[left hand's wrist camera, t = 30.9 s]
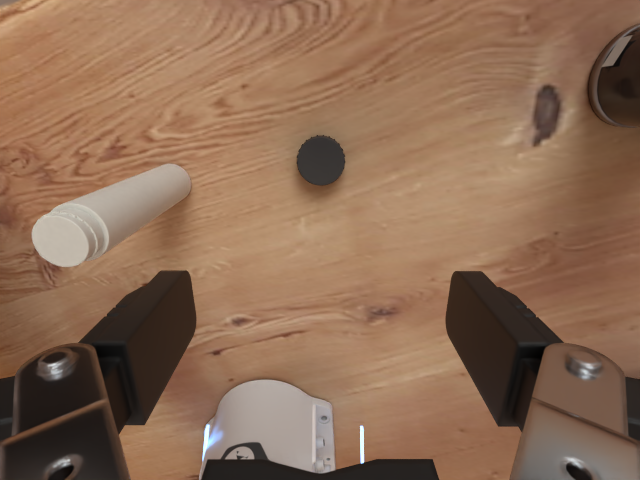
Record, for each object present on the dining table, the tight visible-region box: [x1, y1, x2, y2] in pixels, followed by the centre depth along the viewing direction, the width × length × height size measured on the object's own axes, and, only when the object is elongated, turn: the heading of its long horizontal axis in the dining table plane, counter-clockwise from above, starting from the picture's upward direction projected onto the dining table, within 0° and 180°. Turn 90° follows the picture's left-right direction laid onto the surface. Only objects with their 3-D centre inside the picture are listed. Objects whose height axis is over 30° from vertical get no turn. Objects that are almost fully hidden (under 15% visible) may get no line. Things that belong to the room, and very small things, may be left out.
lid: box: [297, 135, 345, 185], centre depth 37 cm, size 5×5×2 cm
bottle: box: [32, 164, 191, 267], centre depth 30 cm, size 4×4×18 cm
